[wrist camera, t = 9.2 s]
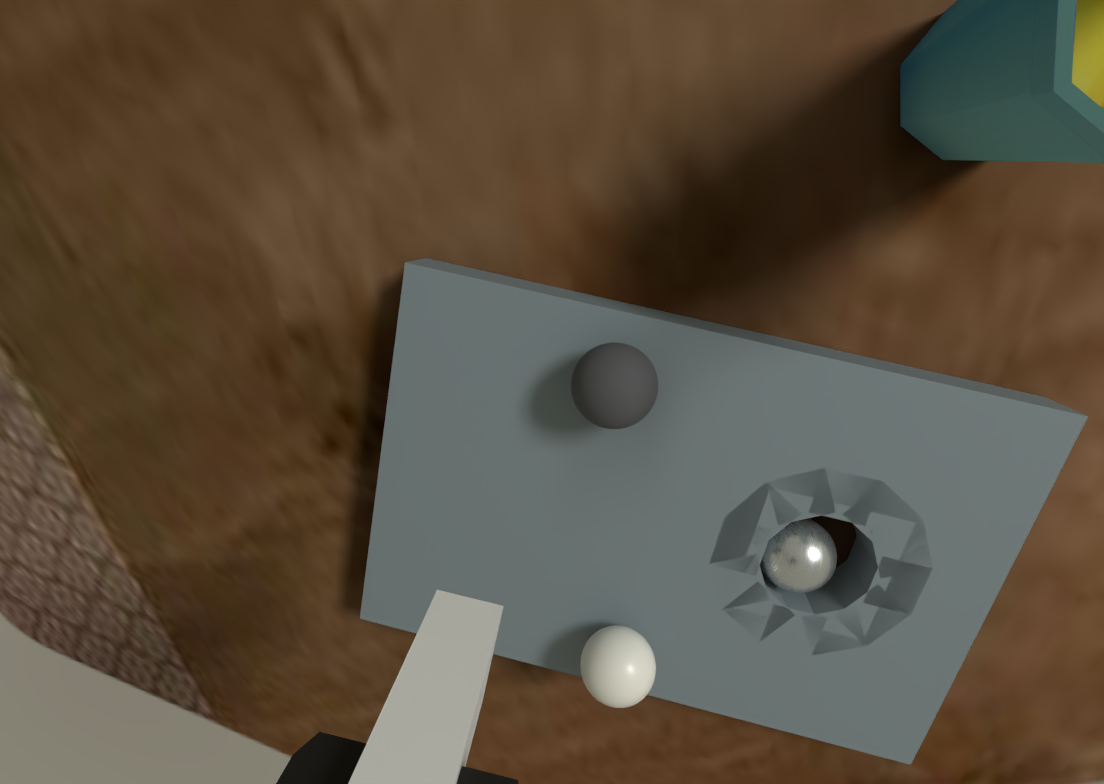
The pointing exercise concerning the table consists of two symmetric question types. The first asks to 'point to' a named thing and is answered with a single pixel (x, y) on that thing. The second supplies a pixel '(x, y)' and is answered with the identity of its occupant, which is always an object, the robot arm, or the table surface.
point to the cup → (1009, 82)
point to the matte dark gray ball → (614, 385)
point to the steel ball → (800, 557)
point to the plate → (702, 503)
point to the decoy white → (618, 666)
